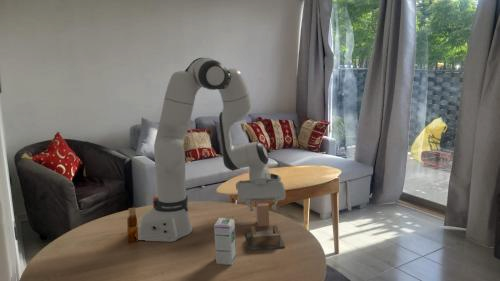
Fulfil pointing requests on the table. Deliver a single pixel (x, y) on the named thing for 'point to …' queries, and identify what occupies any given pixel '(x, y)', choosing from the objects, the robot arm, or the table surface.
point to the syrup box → (225, 241)
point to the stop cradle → (264, 239)
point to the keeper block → (263, 213)
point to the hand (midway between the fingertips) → (262, 210)
